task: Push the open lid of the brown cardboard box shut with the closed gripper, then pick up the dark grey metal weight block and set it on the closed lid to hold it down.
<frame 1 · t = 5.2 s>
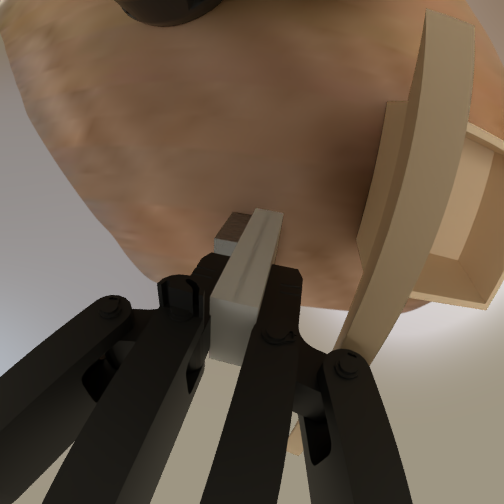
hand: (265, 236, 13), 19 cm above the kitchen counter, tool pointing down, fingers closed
weight block: (249, 244, 36), on the kitchen counter
box: (433, 190, 27), on the kitchen counter
lid: (384, 245, 13), point 18 cm above the kitchen counter, hinge at 107.7°, touching gripper
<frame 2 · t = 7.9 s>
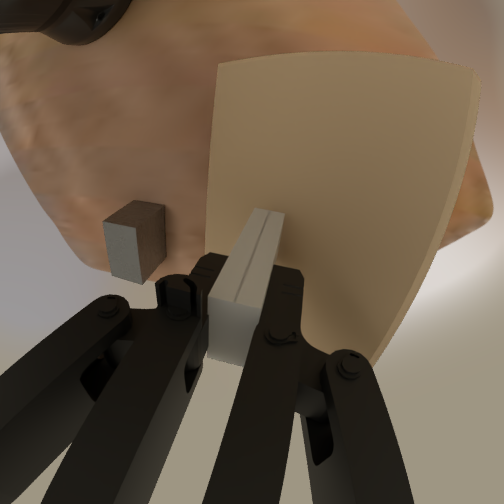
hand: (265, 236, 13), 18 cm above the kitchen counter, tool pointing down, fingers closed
weight block: (149, 229, 37), on the kitchen counter
lid: (273, 222, 15), point 17 cm above the kitchen counter, hinge at 48.8°, touching gripper
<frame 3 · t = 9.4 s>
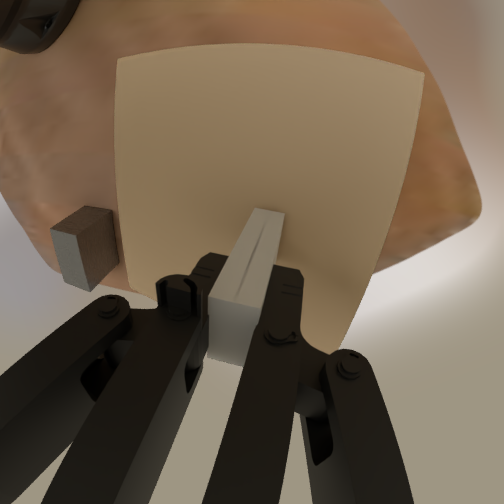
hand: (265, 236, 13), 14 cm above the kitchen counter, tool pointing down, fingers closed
weight block: (101, 234, 34), on the kitchen counter
lid: (223, 210, 15), point 12 cm above the kitchen counter, hinge at 12.5°, touching gripper
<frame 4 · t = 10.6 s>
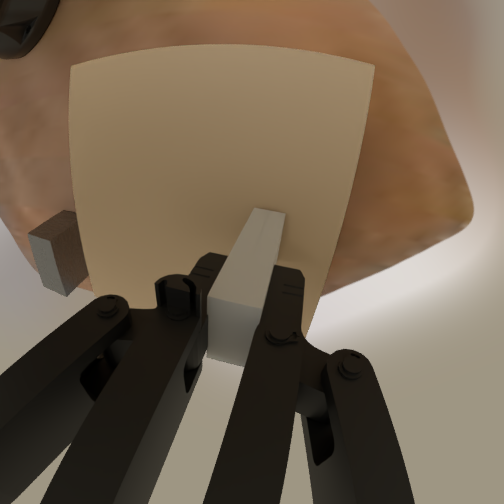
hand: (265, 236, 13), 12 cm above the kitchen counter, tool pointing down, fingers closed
weight block: (79, 239, 33), on the kitchen counter
lid: (181, 210, 15), point 11 cm above the kitchen counter, hinge at 2.3°, touching gripper
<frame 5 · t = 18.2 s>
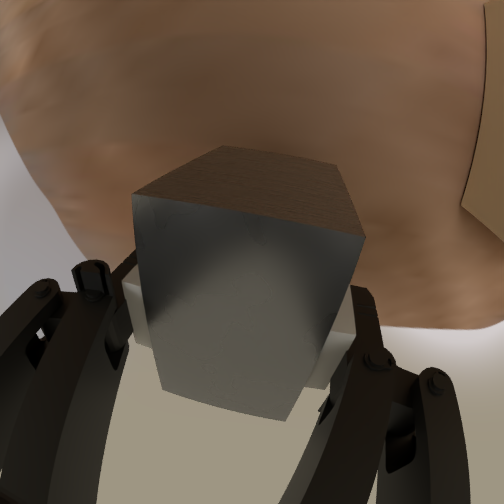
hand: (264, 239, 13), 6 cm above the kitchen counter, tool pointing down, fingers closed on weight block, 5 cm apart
weight block: (266, 235, 13), point 5 cm above the kitchen counter, touching gripper
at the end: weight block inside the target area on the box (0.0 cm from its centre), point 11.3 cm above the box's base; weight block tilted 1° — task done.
